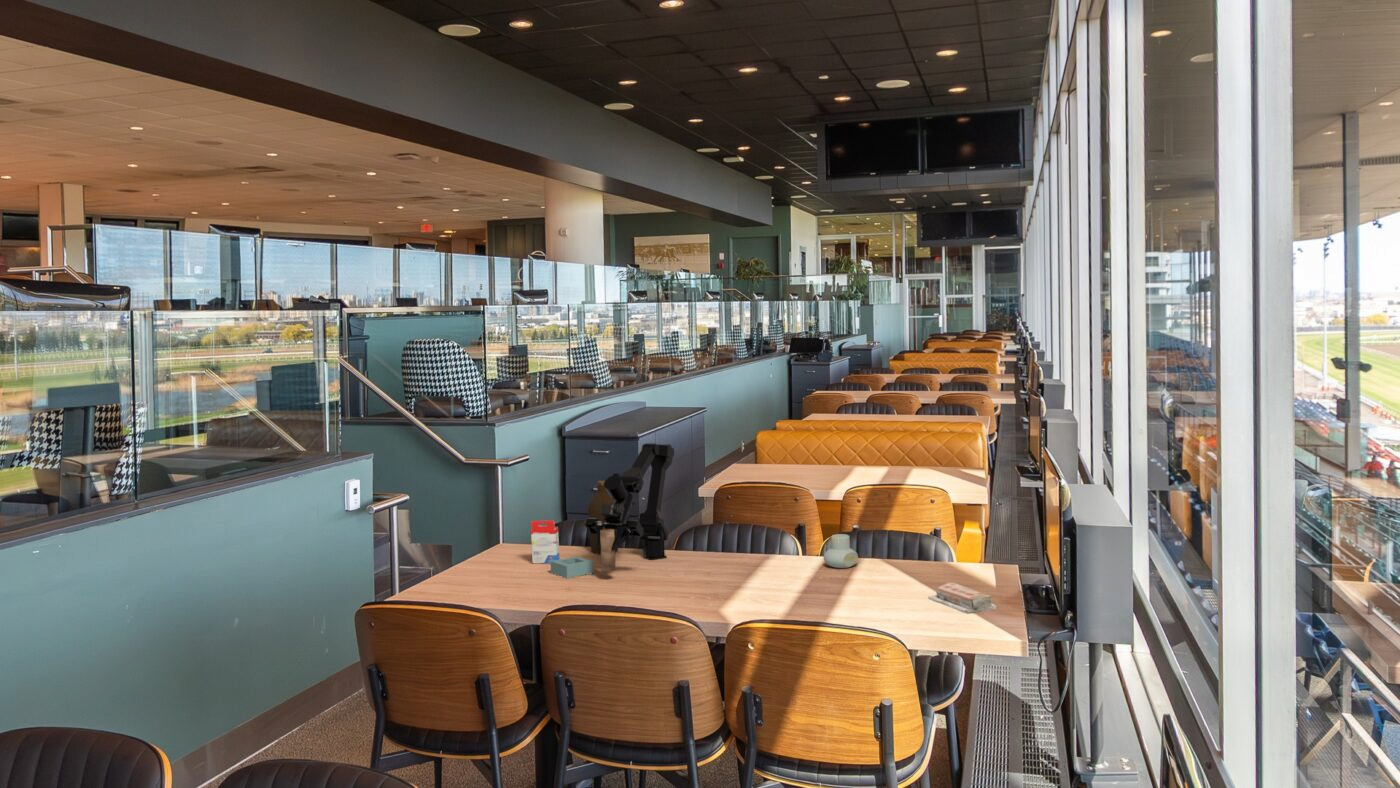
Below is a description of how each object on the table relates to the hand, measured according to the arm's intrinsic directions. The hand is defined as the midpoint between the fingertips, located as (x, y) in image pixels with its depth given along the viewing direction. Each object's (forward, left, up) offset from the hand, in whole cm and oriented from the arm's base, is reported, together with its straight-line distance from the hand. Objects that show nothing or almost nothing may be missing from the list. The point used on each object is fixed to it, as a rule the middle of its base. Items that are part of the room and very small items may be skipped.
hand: (605, 549), depth 331 cm
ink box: (+8, -36, -10) cm, 38 cm away
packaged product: (-73, +80, -10) cm, 109 cm away
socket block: (+6, -15, -10) cm, 19 cm away
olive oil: (-15, -41, -10) cm, 45 cm away
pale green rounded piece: (-71, +24, -10) cm, 76 cm away
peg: (-1, -1, -7) cm, 7 cm away
